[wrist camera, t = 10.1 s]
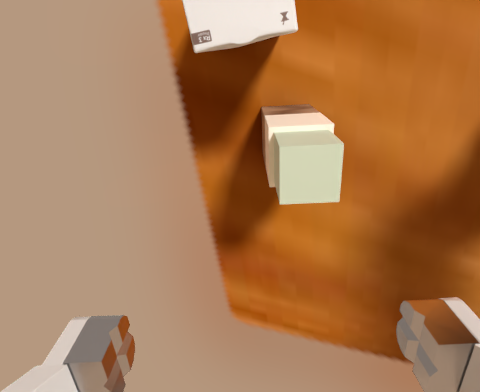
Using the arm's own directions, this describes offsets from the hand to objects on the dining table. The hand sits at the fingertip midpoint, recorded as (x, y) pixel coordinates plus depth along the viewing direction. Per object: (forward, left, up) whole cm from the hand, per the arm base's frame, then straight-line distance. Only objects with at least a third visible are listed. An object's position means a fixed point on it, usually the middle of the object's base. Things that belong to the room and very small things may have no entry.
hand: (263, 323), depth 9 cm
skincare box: (0, -11, -34) cm, 36 cm away
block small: (-5, +2, -22) cm, 23 cm away
